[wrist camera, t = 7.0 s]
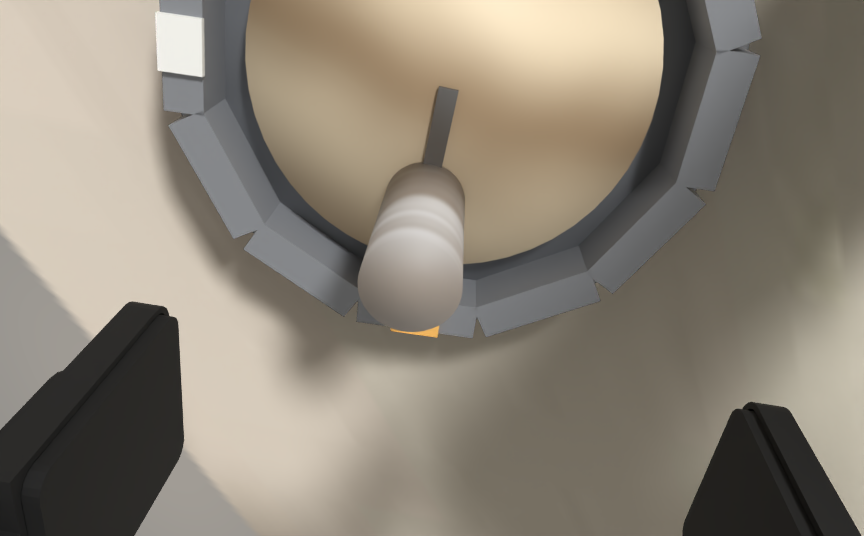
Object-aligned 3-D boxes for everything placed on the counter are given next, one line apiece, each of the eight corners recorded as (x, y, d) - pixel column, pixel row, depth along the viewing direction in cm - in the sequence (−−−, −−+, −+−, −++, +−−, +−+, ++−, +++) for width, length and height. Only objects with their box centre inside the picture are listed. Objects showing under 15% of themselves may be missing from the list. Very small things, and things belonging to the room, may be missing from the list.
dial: (275, -210, 18) (174, -280, 12) (719, -105, 19) (841, -121, 13) (239, 211, 24) (157, 311, 18) (585, 283, 24) (624, 405, 18)
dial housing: (823, -221, 19) (897, -253, 16) (646, 330, 27) (670, 386, 24) (175, -322, 19) (112, -376, 15) (190, 264, 27) (150, 311, 24)
